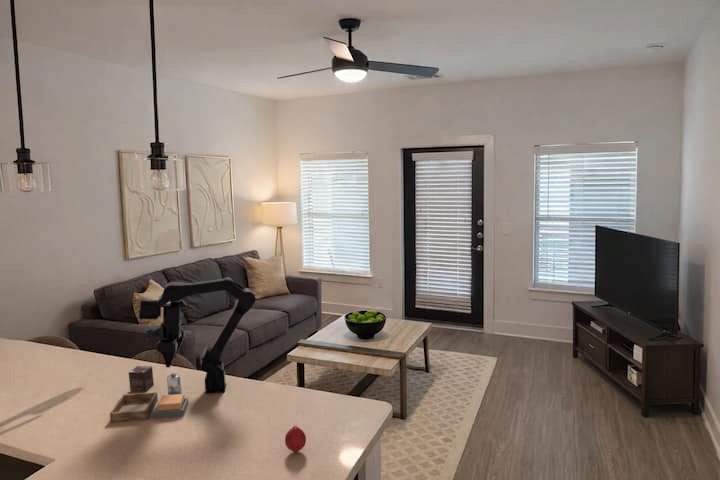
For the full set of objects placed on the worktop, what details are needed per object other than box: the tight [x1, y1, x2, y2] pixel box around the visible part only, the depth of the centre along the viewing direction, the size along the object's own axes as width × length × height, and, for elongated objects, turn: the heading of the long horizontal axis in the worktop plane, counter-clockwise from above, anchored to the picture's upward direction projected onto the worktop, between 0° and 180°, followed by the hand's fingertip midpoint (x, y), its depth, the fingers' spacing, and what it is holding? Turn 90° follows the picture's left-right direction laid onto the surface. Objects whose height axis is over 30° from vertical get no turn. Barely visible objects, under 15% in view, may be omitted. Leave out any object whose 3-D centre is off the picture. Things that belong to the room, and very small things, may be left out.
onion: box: [284, 425, 307, 454], centre depth 142 cm, size 6×6×8 cm
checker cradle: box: [153, 397, 189, 419], centre depth 168 cm, size 9×9×2 cm
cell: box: [166, 372, 182, 395], centre depth 180 cm, size 4×4×8 cm
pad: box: [157, 393, 186, 411], centre depth 168 cm, size 7×7×2 cm
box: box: [128, 365, 154, 393], centre depth 186 cm, size 6×6×7 cm
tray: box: [109, 391, 158, 423], centre depth 168 cm, size 11×14×3 cm
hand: (170, 362), depth 179 cm, fingers open, 9 cm apart
